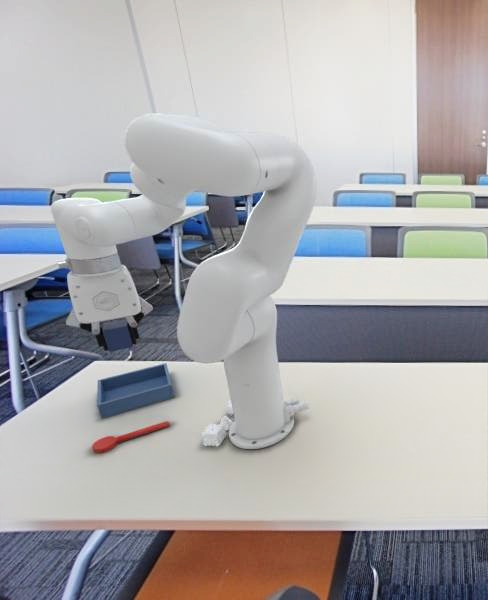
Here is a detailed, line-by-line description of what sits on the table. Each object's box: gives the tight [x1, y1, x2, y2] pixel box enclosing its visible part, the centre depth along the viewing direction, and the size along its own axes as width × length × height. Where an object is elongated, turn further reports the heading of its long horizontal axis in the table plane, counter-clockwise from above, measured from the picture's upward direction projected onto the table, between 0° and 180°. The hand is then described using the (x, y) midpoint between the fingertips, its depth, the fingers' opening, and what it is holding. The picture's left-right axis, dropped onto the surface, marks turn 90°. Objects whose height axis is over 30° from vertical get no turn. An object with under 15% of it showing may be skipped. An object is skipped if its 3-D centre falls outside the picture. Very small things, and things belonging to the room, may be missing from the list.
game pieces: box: [200, 400, 234, 447], centre depth 84 cm, size 12×3×3 cm, turn 1°
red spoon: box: [91, 421, 170, 454], centre depth 80 cm, size 12×4×1 cm, turn 128°
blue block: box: [101, 318, 134, 353], centre depth 84 cm, size 4×4×5 cm
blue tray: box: [96, 362, 176, 419], centre depth 92 cm, size 13×11×4 cm
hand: (120, 344), depth 85 cm, fingers closed on blue block, 4 cm apart
